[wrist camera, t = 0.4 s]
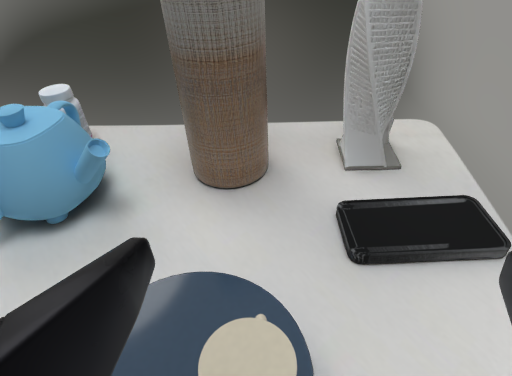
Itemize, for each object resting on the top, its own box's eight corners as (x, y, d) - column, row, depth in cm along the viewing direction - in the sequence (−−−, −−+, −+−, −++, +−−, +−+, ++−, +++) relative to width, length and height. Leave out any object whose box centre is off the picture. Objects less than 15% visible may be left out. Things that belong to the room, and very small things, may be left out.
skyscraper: (404, 175, 43) (491, -133, 25) (338, 177, 43) (378, -126, 25) (385, 140, 49) (444, -125, 32) (328, 141, 50) (355, -119, 32)
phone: (335, 201, 38) (473, 194, 38) (334, 208, 38) (469, 202, 38) (352, 257, 32) (517, 250, 31) (350, 265, 32) (512, 258, 32)
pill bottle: (98, 134, 54) (78, 82, 49) (85, 150, 50) (62, 96, 45) (69, 134, 54) (46, 82, 49) (54, 151, 51) (27, 97, 45)
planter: (187, 190, 42) (122, -109, 25) (199, 147, 50) (156, -105, 32) (268, 188, 42) (261, -117, 24) (268, 145, 49) (261, -111, 32)
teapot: (-67, 231, 38) (-150, 139, 31) (43, 151, 51) (2, 72, 43) (83, 267, 34) (27, 169, 26) (164, 169, 46) (142, 83, 38)
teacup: (287, 455, 19) (288, 432, 17) (193, 430, 21) (182, 404, 18) (302, 344, 24) (304, 313, 22) (226, 329, 25) (220, 297, 23)
